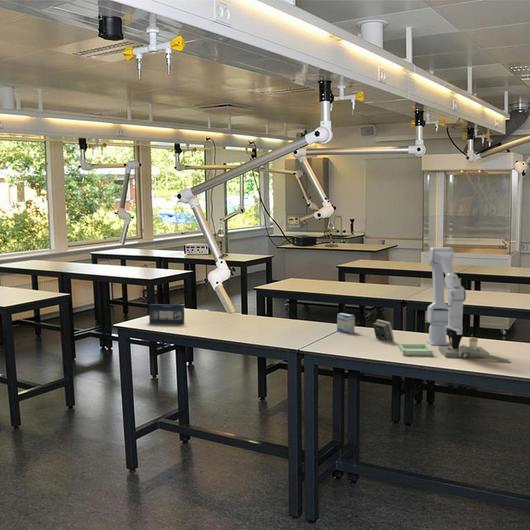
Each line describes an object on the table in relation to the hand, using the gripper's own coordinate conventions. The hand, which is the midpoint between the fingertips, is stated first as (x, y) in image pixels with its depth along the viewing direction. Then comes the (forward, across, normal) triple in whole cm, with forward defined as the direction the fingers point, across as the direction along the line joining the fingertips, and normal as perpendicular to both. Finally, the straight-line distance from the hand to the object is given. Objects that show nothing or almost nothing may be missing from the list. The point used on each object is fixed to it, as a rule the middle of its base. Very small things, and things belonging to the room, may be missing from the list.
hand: (454, 347), depth 257 cm
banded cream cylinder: (+3, 0, 0) cm, 3 cm away
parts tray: (+3, -2, -16) cm, 16 cm away
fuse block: (+3, 0, +4) cm, 5 cm away
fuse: (+3, 0, +8) cm, 8 cm away
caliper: (+3, +9, +10) cm, 14 cm away
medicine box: (+3, -41, -42) cm, 59 cm away
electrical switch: (+3, -24, -26) cm, 36 cm away
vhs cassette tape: (+3, -55, -134) cm, 145 cm away
